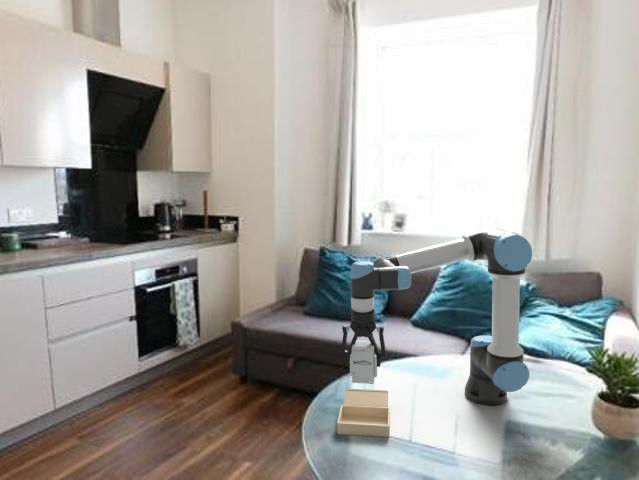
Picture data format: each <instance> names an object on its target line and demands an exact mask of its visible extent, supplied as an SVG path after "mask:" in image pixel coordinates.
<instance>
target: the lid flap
mask: <svg viewBox="0 0 639 480" xmlns="http://www.w3.org/2000/svg"><path fill="white" fill-rule="evenodd" d="M343 405H352V406H371V407H389V390H386V389H385V390H384V389H383V390H380V389H366V388H365V389H363V388H345V391H344V398H343Z"/></svg>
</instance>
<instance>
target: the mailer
mask: <svg viewBox="0 0 639 480" xmlns="http://www.w3.org/2000/svg"><path fill="white" fill-rule="evenodd" d="M390 425H391V407H390V406H388V407H371V406H352V405H344V404H341V405H340V410H339V414H338V419H337V423H336V426H337V435H341V436H343V435H344V436H345V435H346V436H357V437H358V436H359V437H360V436H361V437H373V438H376V437H377V438H390V431H391V430H390V428H391V426H390Z"/></svg>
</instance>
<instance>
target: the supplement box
mask: <svg viewBox="0 0 639 480" xmlns="http://www.w3.org/2000/svg"><path fill="white" fill-rule="evenodd" d="M351 354H352V376H351V383H352V384H367V385H374V383H375V382H374V381H375V378H376V377H375V368H374V358H375V355H376V354H375V352H374V345H371V343H370V340H369V339H368V340H367V339H357V340H356V342H355V345H352V352H351Z"/></svg>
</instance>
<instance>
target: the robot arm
mask: <svg viewBox="0 0 639 480" xmlns="http://www.w3.org/2000/svg"><path fill="white" fill-rule="evenodd" d="M532 259H533V248H532V245H531V244H530V242H529V241H528V240H527V238H525V237H524V236H523V235H520V234H518V233H516V232H512V231H508V230H504V229H500V228H487V229H482V230H478V231H475V232H471V233H467V234H464V235H462V237H461V238H459V239H456V240H452V241H448V242H445V243H440V244H436V245H432V246H428V247H424V248H420V249H417V250H413V251H408V252H405V253H402V254H397V255H394V256H389V257H384V256H378V257H376V258H375V259H373V260H372V261H365V260H359V261H355V262H353V263H351V265H350V275H349V277H350V305H351V306H350V307H351V317H350V318H351V322H350V323H349V324H343V325H342V328H341V329H342V342H341V350H340V354H341V355H342V356H345V358H346V366H349V376H350V377H352V345H355V342H356V340H358V338H363V337H364V338H368V340H370V343H371V345H374V352H375V358H374V368H375V378H378V368H379V367H381V358H383V357H386V355H387V351H386V344H385V337H384V330H385V326H384V325H382V324H381V325H377V324H376V321H375V292H380V291H401V290H402V291H403V290H407V289H410V288H411V285H412V274H415V273H419V272H422V271H427V270H431V269H435V268H438V267H442V266H448V265H451V264H453V263H457V262H462V261H466V260H467V261H469V262H473V261H478V260H481V261H487V273H488V274H489V275H490V276H491V278H492V289H491V291H492V296H491V297H492V299H491V300H492V301H491V306H492V307H491V309H492V310H491V335H484V334H483V335H477V336H474V337H471V339H470V346H469V348H470V350H469V351H470V352H469V362H470V363H469V376H468V378H467V381H466V383H465V386H464V395H465V397H466V398H467V399H468V400H469V401H472V402H473V403H476V404H479V405H484V406H498V405H502V404H505V403H506V402H507V400H508V393H514V392H518V391H519V390H520V391H521V389H522V388H523V387H524V386H526V385H527V383H528V381H529V380H530V374H531V373H530V370H529V368H528V366H527V365H526V364H525V363H524V349H523V348H522V347H521V346H520V344H519V343H520V296H521V294H520V291H521V290H520V289H521V277H523V276H524V275H525V274H526V268H527V267H528V265H529V264H530V263H531V261H532ZM350 330H351V331H352V332H353V333H354V334H353V336H352V339H351V341H350V343H349V347H348V349H347V350H346V348H347V340H348V333H349V332H350ZM375 330H376V333H378V336H379V344H380V349H379V347H378V344H377V342H376V340H375V337H374V334H373V333H374V332H375Z"/></svg>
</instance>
